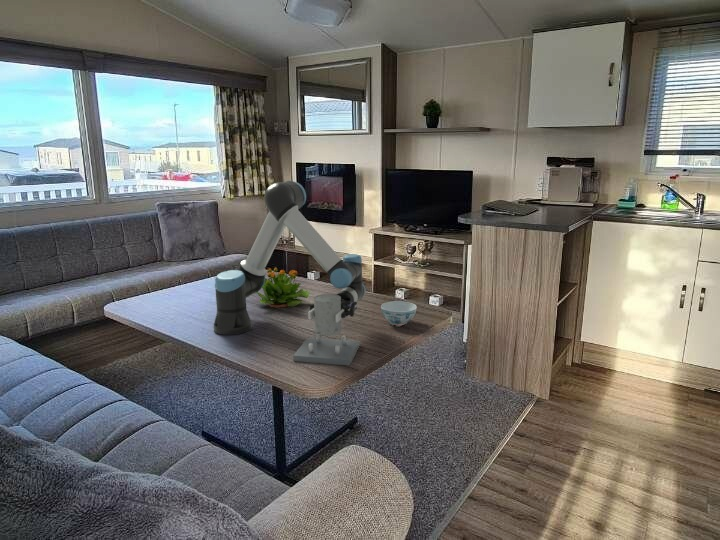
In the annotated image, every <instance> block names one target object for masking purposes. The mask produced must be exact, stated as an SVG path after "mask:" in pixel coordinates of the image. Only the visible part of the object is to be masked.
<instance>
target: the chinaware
mask: <svg viewBox="0 0 720 540" xmlns="http://www.w3.org/2000/svg"><path fill="white" fill-rule="evenodd" d="M380 308H381V313H382V315H383V317H384V318H385V320H387V321H388V322H390V324H391V323H392V324H397V325H398V324H405V323H406V324H408V322H410V321H411V320H413V318H414V316H415V315H416V311H417V308H418V307H417V305H416V304H414V303H412V302H410V301H404V300H403V301H401V300H400V301H399V300H396V301H394V300H393V301H392V300H391V301H388V302H384V303H382V304H381V305H380Z"/></svg>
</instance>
